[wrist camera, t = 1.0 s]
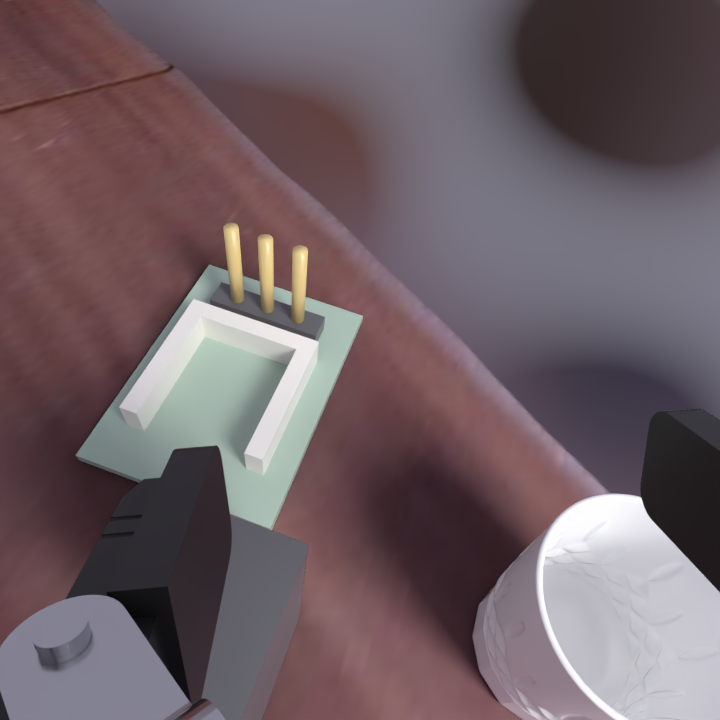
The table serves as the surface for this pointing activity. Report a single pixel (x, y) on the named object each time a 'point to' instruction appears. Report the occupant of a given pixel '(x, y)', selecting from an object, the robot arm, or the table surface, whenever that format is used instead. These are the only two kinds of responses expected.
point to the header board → (232, 383)
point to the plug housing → (254, 619)
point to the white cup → (602, 622)
